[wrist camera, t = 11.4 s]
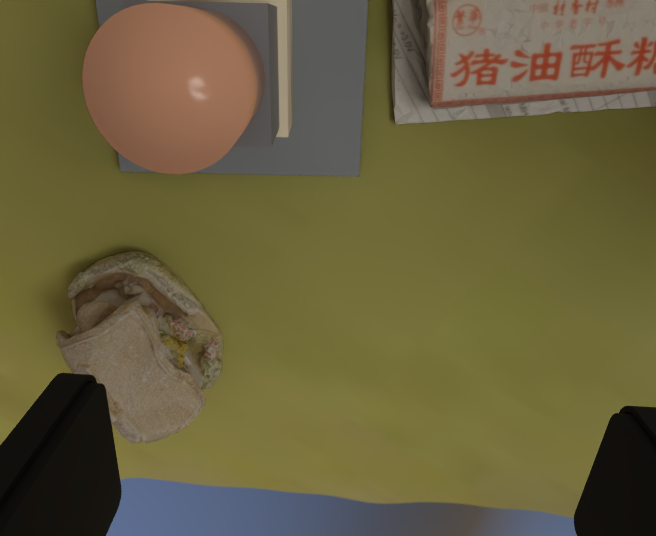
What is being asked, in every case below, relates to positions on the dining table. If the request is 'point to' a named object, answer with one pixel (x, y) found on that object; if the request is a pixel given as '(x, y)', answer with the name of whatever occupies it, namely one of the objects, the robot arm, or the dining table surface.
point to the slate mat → (307, 95)
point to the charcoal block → (264, 34)
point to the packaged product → (520, 57)
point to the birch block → (284, 58)
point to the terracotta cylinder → (172, 85)
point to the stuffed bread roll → (142, 344)
